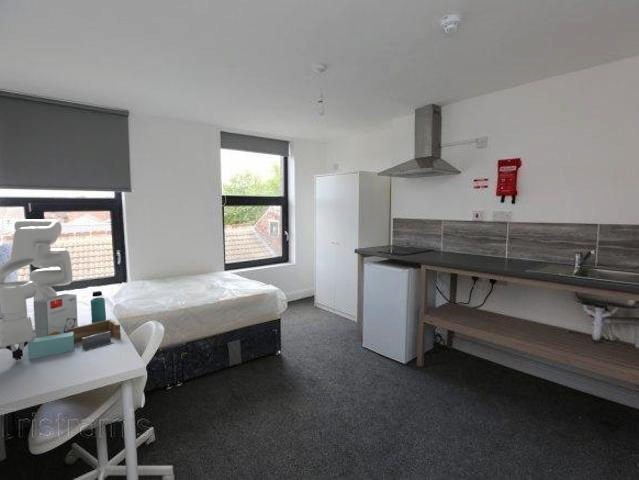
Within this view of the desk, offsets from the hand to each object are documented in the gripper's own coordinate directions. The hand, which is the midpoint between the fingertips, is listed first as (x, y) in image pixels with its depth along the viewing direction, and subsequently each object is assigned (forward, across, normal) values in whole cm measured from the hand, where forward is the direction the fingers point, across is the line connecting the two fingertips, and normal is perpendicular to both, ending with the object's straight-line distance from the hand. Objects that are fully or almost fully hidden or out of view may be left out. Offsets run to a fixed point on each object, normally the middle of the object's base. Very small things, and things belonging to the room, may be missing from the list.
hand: (18, 358), depth 133 cm
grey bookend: (+1, +27, -7) cm, 27 cm away
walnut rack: (+1, +27, +1) cm, 27 cm away
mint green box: (+1, +11, 0) cm, 11 cm away
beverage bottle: (+1, +34, +18) cm, 38 cm away
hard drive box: (+1, +17, +20) cm, 26 cm away
